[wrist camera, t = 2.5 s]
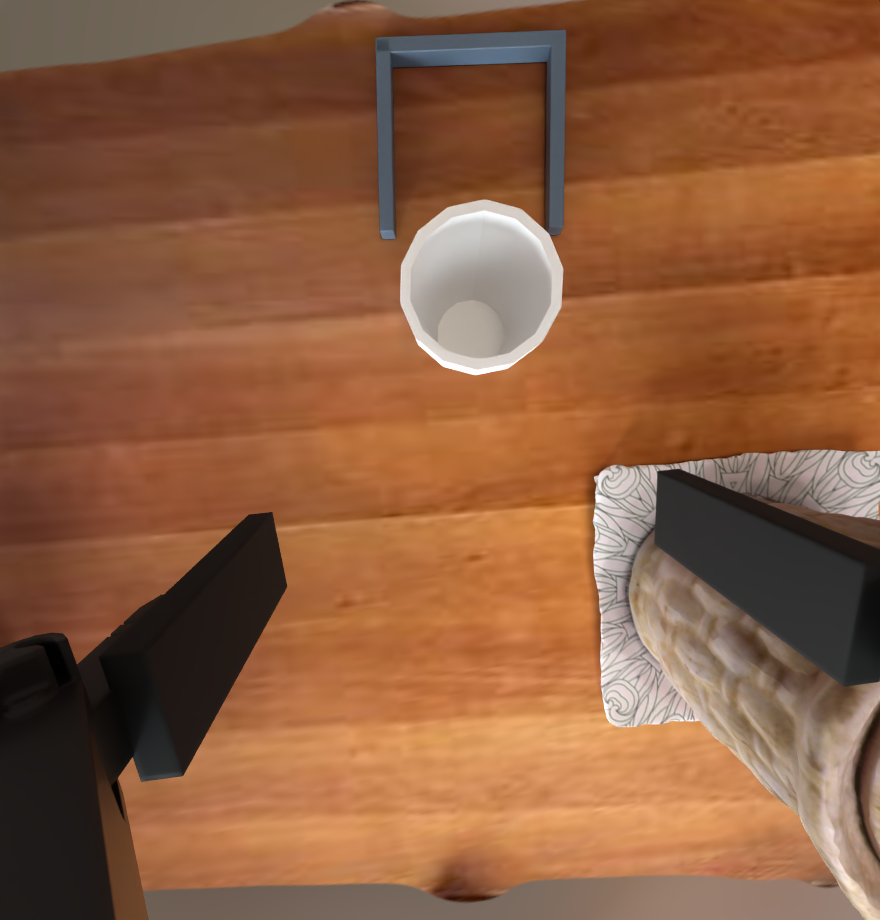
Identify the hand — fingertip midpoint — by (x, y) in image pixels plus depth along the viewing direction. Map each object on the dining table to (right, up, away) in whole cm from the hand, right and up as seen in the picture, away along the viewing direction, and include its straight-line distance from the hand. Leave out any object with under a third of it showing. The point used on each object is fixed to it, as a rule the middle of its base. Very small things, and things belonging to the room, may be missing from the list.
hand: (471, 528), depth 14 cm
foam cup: (+2, +13, +23) cm, 26 cm away
